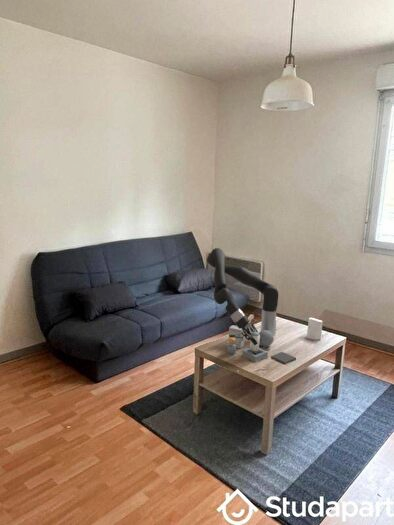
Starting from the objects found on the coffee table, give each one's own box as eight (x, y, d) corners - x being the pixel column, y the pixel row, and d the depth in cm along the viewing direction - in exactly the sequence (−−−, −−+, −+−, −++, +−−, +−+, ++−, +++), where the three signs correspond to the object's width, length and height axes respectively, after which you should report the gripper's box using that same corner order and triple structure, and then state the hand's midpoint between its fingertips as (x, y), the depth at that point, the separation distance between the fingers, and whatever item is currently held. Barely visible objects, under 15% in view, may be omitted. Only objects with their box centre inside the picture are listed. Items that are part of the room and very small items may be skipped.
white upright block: (304, 336, 256) (305, 319, 254) (311, 333, 262) (313, 316, 260) (316, 340, 250) (318, 323, 247) (323, 337, 256) (325, 320, 253)
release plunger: (231, 340, 229) (232, 336, 228) (236, 343, 226) (237, 339, 225) (227, 342, 226) (227, 338, 226) (232, 344, 223) (232, 340, 223)
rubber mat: (281, 353, 229) (281, 351, 229) (295, 359, 222) (296, 357, 222) (270, 357, 223) (271, 356, 223) (285, 364, 216) (285, 362, 215)
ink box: (227, 345, 238) (228, 327, 236) (231, 342, 242) (232, 324, 240) (240, 348, 234) (242, 330, 232) (243, 345, 238) (245, 327, 236)
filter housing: (243, 346, 238) (244, 338, 237) (267, 356, 224) (268, 348, 223) (225, 352, 228) (225, 344, 227) (249, 364, 214) (249, 355, 213)
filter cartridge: (253, 346, 227) (254, 330, 225) (260, 349, 223) (261, 333, 221) (248, 349, 224) (249, 332, 222) (255, 352, 220) (256, 335, 218)
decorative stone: (272, 350, 233) (273, 334, 231) (255, 348, 235) (256, 332, 233) (273, 343, 243) (274, 328, 241) (257, 341, 245) (258, 326, 243)
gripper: (240, 318, 233) (258, 341, 230) (230, 325, 221) (248, 350, 217) (249, 311, 229) (267, 335, 226) (239, 318, 217) (258, 343, 214)
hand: (258, 342), depth 222 cm, fingers closed on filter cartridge, 5 cm apart
